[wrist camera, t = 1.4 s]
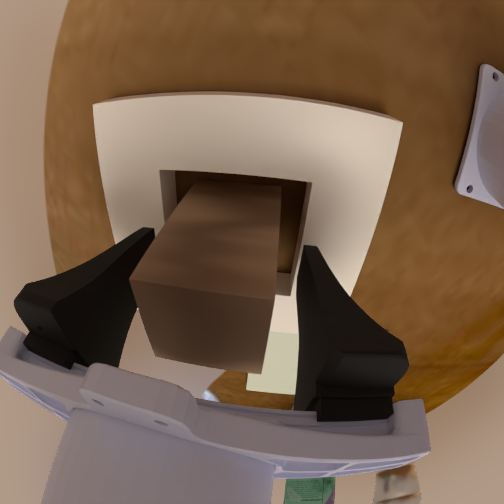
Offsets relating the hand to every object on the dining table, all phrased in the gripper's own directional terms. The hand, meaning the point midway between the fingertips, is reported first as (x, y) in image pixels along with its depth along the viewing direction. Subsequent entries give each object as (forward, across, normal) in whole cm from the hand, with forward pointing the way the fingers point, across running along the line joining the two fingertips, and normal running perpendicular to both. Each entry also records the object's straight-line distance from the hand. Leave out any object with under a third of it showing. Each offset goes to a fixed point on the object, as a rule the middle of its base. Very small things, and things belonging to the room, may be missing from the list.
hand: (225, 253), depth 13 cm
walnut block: (+3, 0, 0) cm, 3 cm away
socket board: (+3, 0, 0) cm, 3 cm away
